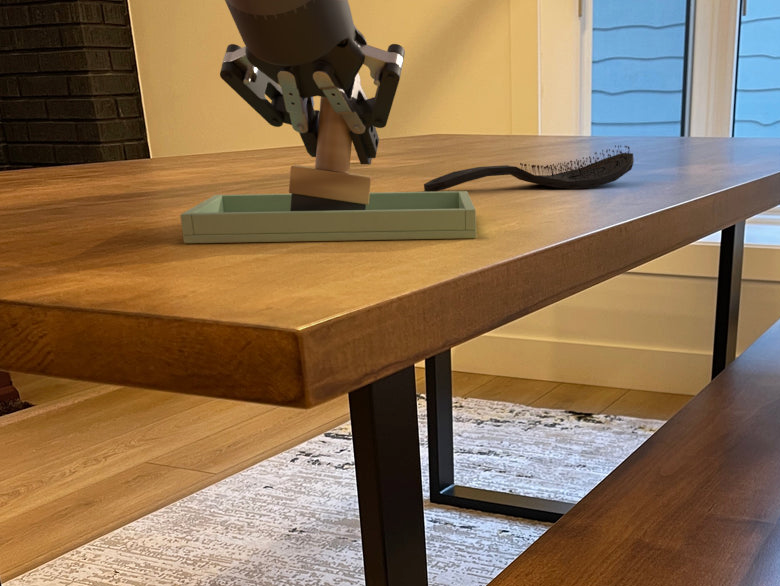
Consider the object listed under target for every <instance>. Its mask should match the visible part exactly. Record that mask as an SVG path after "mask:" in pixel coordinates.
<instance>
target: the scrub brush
mask: <svg viewBox="0 0 780 586" xmlns="http://www.w3.org/2000/svg"><path fill="white" fill-rule="evenodd" d="M319 111H320V112H319V124H318V137H317V149H316V157H315V163H314V166H310V165H301V164H297V163H296V164H295V163H294V164H292V165H291V166H290V170H289V171H290V172H289V184H288V194H292V195H291V209H290V211H340V210H365V209H366V205H368V204H369V196H370V193H371V185H372V177H371V175H367V174H363V173H355V172H350V167H351V157H352V146H353V145H352V144H353V142H352V139H351V136H350V129H349V127H348V125H347V124H346V122H345V120H344V119H343V117H342V115H341V114H339V115H337V114H336V112H335V111H334V109H333V107H332V106H331V104H330V102H329V101H328V99H327V98H326V97H321V96H320V102H319Z"/></svg>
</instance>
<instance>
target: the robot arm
mask: <svg viewBox="0 0 780 586" xmlns="http://www.w3.org/2000/svg"><path fill="white" fill-rule="evenodd" d="M224 1H225V3H226V6H227V8H228V11H229V12H230V13H229V14H230V15H231V18H232V19H233V20H232V21H234V24H235V26H236V28H237V31H238V33H239V35H240V38H241V39H242V42H243V44H244V45H245V46H243V47H241V46H240V45H238V44H235V43H229V44H228V45H227V47H226V50H225V53H224V55H223V59H222V63H221V68H220V70H219V71H220V72H219V77H220V79H222V81H224V82H225V83H226V84H227V85H228V86H229V87H230V88H231V89H232V90H233V91H234V92H235V93H236V94H237V95H238V96H239V97H240V98H241V99H243V101H245V102H246V103H247V104H248V105H249V106H250V107H251V108H252V109H253V110H254V111H255V112H256V113H257V114H259V116H261V117H262V118H263V119H264V120H265V121H266V122H267V123H268V125H271V127H274V128H275V127H276V128H280V127H282V126H283V125H284V124H287V125H289V126H291V127H292V129H293V130H294V131H295V132H296V133H298V134H299V136H300V138H301V140H302V144H303V145H304V148H305V150H306V152H307V154H308V155H309V156H310V157H311V158H316V149H317V137H318V124H319V112H320V109H315V108H314V106H315V102H314V97H320V98H321V97H326V98H327V99H328V101H329V102H330V104H331V106H332V107H333V109H334V111H335V112H336V114H337V115H339V114H341V115H342V117H343V119H344V120H345V122H346V124H347V125H348V127H349V129H350V136H351V139H352V144H353V147H354V150H355V152H356V156H357V158H358V162H359V163H360V165H366V166H367V165H368V166H369V165H371V164H372V161H373V160H372V159H376V156H377V154H378V153H377V152H378V147H379V142H380V137H379V135H378V131H377V129H383V128H385V127H386V126H387V123H388V120H389V116H390V114H391V110H392V107H393V103H394V100H395V96H396V93H397V91H398V90H397V89H398V87H399V83H400V80H401V74H402V69H403V64H404V58H405V55H406V51H405V48H404V47H403V46H402V45H400V44H398V43H392V44H389V45H388V47H387V50H384V49H381V48H378V47H376V46H373V45H370V44H368V42H367V39H366V37H365V35H363V33H362V32H361V31H360V30H359V29H358V28H357V26H356V25H355V23H354V20H353V14H352V10H351V7H350V3H349V0H224ZM363 65H364V66H366V67H367V68H368V69H369V74H370V77H371V79H372V80H373V84H374V85H375V86H377V87H376V91H375V95H374V96H373V97H369V98H368V96H367V94H366V93H365V90H364V89H363V87H362V83H361V82H362V81H361V77H360V74H359V72H360V70H361V68H362V67H363ZM267 98H268V99H269V100H268V99H267ZM270 101H271V102H270Z"/></svg>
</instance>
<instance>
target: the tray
mask: <svg viewBox="0 0 780 586" xmlns="http://www.w3.org/2000/svg"><path fill="white" fill-rule="evenodd" d="M291 195H292V194H291V193H258V194H257V193H250V194H249V193H247V194H245V193H243V194H214V195H212V196H211V197H209V198H207V199H205V200H203V201H201V202H200V203H198V204H197V205H195V206H193V207H191V208H189V209H187V210H186V211H183V212H182V213H180V214H179V215H180V216H179V217H180V223H181V230H182V232H181V233H182V235H183V236H182V239H183V244H185V245H187V244H231V243H232V244H235V243H238V244H239V243H241V244H242V243H287V242H289V243H291V242H294V243H295V242H340V241H341V242H342V241H343V242H344V241H347V242H348V241H350V242H351V241H399V240H400V241H401V240H403V241H404V240H448V239H449V240H452V239H454V240H456V239H458V240H459V239H476V238H477V210H476V207H475V205H474V203H473V201H472V198H471V197H470V195H469V192H468V190H452V191H451V190H448V191H446V190H445V191H443V190H440V191H436V192H424V191H386V192H385V191H382V192H381V191H379V192H373V191H372V192H370V196H369V204H368V205H366V209H365V210H340V211H290V209H291Z"/></svg>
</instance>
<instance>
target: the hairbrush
mask: <svg viewBox="0 0 780 586" xmlns="http://www.w3.org/2000/svg"><path fill="white" fill-rule="evenodd" d="M614 148H617V149H616V151H615V150H614V149H612V153H615V152H616V153H615V154H612V155H611V154H610V152H611V149H610V148H609V149H607V148H606V151H605V153H606V155H607V157H605V153H604V149H602V152H599V155H600V157H604V158H603V159H602V158H601V159H600V157H597V156H598V154H597V151H595V152H594V155H595V157H596V159H595V157H594V156H592V158H591V156H590V155H589V156H588V157H586V158H585V157H582V159H580V160H578V158H576V159H575V160H574V161H573V160H569V161H568V162H566V161H564V162H563V163H562V162H558V164H556V165H555V164H554V163H552V164H551V163H550V164H546V165H545V166H544V165H543V164H542V165H539V164H537V165H536V164H531V166H530V164H527V163H521V162H520V167H518V166H515V165H506V164H504V165H503V164H502V165H489V166H488V165H487V166H486V165H485V166H476V167H471V168H466V169H460V170H455V171H452V172H450V173H445V174H444V175H441V176H438V177H436V178H433V179H430V180H429V181H428V182H425V183H424V184H423V189H424V190H423V192H440V191H443V190H448V189H450V188H452V187H453V188H454V187H457V186H459V185H461V184H464V183H468V182H471V181H475V180H479V179H482V178H483V179H484V178H487V177H497V176H512V177H514V178H516V179H517V180H519V181H523V182H527V183H530V184H535V185H540V186H547V187H551V188H557V189H558V188H559V189H570V190H582V189H590V188H596V187H600V186H603V185H607V184H610V183H612V182H613V183H614V182H616V181H617V180H619V179H620V178H622V177H623V176H625V175H626V174H627V173H629V172H630V171H631V170H632V169H633V166H634V163H635V162H634V161H635V158H634V153H631V150H630V149H631V148H630V146H628V145H624V148H625V149H627V151H625V152H623V151H622V149H620V148H622V145H621V144H620V145H614ZM619 149H620V150H619ZM601 155H602V156H601ZM584 158H585V160H584ZM588 158H589V163H588ZM592 159H593V160H594V161H593V162H592ZM582 160H583V161H582ZM576 162H577V163H576ZM580 163H581V164H580ZM573 164H574V167H573ZM527 165H528V167H529V169H531V170H532V173H531V171H529V172H528V170H527V168H528V167H527ZM569 165H570V166H569ZM530 167H531V168H530ZM557 167H558V168H557ZM540 168H541V170H542V171H541V170H540ZM536 169H537V171H535V170H536ZM545 170H547V171H545ZM537 172H538V175H537ZM540 173H542V174H540Z"/></svg>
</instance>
